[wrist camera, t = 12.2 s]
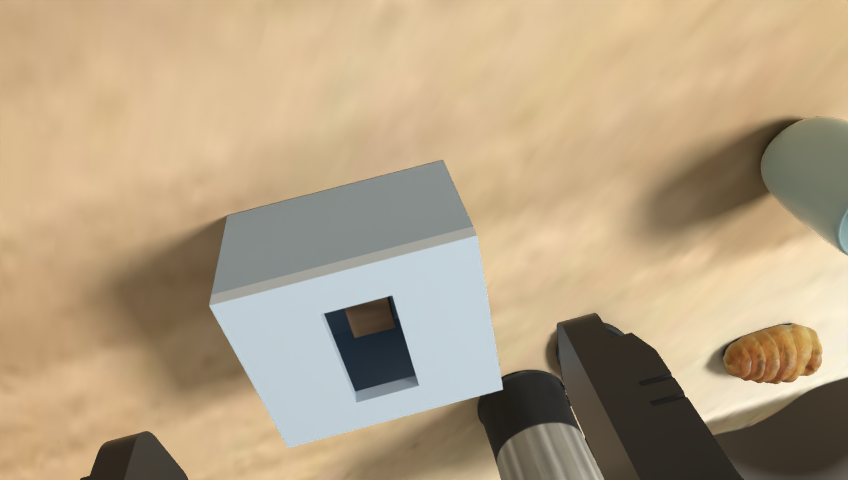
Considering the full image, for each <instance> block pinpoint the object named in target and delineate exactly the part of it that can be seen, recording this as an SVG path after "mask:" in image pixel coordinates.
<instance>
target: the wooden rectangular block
mask: <svg viewBox="0 0 848 480" xmlns="http://www.w3.org/2000/svg"><path fill="white" fill-rule="evenodd" d="M344 309H345V312H346V315H347V317H348V320H349V323H350V326H351V329H352V332H353V335H354V338H357V337H361V336H365V335H369V334H373V333H377V332H380V331H384V330H388V329H392V328H396V327H395V322H394V317H393V312H392V307H391V302H390V297H389V296H388V297H384V298H381V299H377V300H373V301H369V302H366V303H362V304H358V305H354V306H350V307H347V308H344Z"/></svg>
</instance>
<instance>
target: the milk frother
mask: <svg viewBox="0 0 848 480" xmlns="http://www.w3.org/2000/svg"><path fill="white" fill-rule="evenodd" d="M604 325H605V327H606V328H607V330H608V332H609V333H610V335H611V337H612V338H614V337H618V336H621V335H625V334H624V333H623V332H621V331H620V330H619V329H617V328H616V327H614V326H612V325H610V324H607V323H604ZM556 354H557V359H558V361H559V364H560V366H561V363H560V353H559V344H558V346H557V353H556ZM501 380H502V386H503V390H500V391H496V392H492V393H489V394H485V395H482V397H481V398H480V401H479V404H478V416H479V419H480V421H481V423H482V424H483V425H484V427H485V430H486V433H487V436H488V439H489V442H490V445H491V447H492V450H493V453H494V457H495V460H496V464H497V467H498V470H499V474H500V478H501V480H604V479H603V476H602V474H601V472H600V470H599V468H598V467H599V466H597V465H598V464H596V463H597V462H595V461H596V460H594V459H595V457H594V455H593V453H592V451H591V448H590V446H589V444H588V442H587V440H586V437H585V439H584V437H583V435H582V432H581V430H580V428H579V426H578V424H577V421H576V419H575V417H574V415H573V412H572V410H571V408H570V407H571V404H570V401H569V399H568V396H567V395H566V392H565V386H564V385H563V383H562V382H561V380H560V379H559V378H557V377H556V376H555V375H553V374H551V373H547V372H544V371H537V370H529V371H522V372H517V373H514V374H511V375H508V376H506V377H504V378H502V379H501ZM566 397H567V398H566Z"/></svg>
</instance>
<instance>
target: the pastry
mask: <svg viewBox="0 0 848 480" xmlns="http://www.w3.org/2000/svg"><path fill="white" fill-rule="evenodd" d="M821 354H822V346H821V343H820V341H819V339H818V337H817V333H816V332H815V331H814V330H812V329H811V328H808V327H804V326H800V325H797V324H793V323H792V324H791V325H783V324H782V325H777V326H772V327H770V328H768V329H762V330H760V331H757V332H754V333H751V334H748V335H745V336H743V337H741V338H740V339H739V340H737V341H736V342H733V343H731V344H730V345H729V346H728V348H727V349H726V352H725V355H724V357H723V362H724V366H725V369H726V371H727V372H728V373H729V374H730V375H733V376H736V377H739V378H741V379H743V380H745V381H748V380H752V381H755V382H757V383H762V382H766V383H773V384H779V383H780V382H781V381H782V382H793V381H795V380H796V379H797V378H798V376H804V375H805V376H809V375H811V374H813V373H815V372H816V371H817V370H818V368H819V367H820V365H821V363H822V357H821Z"/></svg>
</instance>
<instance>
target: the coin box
mask: <svg viewBox="0 0 848 480" xmlns="http://www.w3.org/2000/svg"><path fill="white" fill-rule="evenodd" d="M388 296H389V297H390V302H391V307H392V312H393V317H394V322H395V327H396V328H392V329H388V330H384V331H380V332H377V333H373V334H369V335H365V336H361V337H357V338H354V335H353V332H352V329H351V326H350V323H349V320H348V317H347V315H346V312H345V309H344V308H347V307H350V306H354V305H358V304H362V303H366V302H369V301H373V300H377V299H381V298H384V297H388ZM209 307H210V308H211V310H212V312H213V314H214V316H215V317H216V319H217V321H218V323H219V325H220V326H221V328H222V330H223V332H224V334H225V335H226V337H227V339H228V341H229V343H230V344H231V346H232V348H233V350H234V352H235V353H236V355H237V357H238V359H239V361H240V362H241V364H242V366H243V368H244V370H245V371H246V373H247V375H248V377H249V379H250V380H251V382H252V384H253V386H254V388H255V389H256V391H257V393H258V395H259V397H260V399H261V400H262V402H263V404H264V406H265V408H266V409H267V411H268V413H269V415H270V417H271V418H272V420H273V422H274V424H275V426H276V427H277V429H278V431H279V433H280V435H281V436H282V438H283V440H284V442H285V444H286V445H287V447H288V448H290V447H294V446H298V445H301V444H305V443H309V442H312V441H316V440H320V439H323V438H327V437H331V436H334V435H338V434H342V433H345V432H349V431H353V430H356V429H360V428H364V427H367V426H371V425H375V424H378V423H382V422H386V421H389V420H393V419H397V418H400V417H404V416H408V415H411V414H415V413H419V412H422V411H426V410H430V409H433V408H437V407H441V406H445V405H448V404H452V403H456V402H459V401H463V400H467V399H470V398H474V397H478V396H481V395H485V394H489V393H492V392H496V391H500V390H503V386H502V380H501V374H500V368H499V362H498V356H497V350H496V344H495V338H494V332H493V326H492V320H491V314H490V308H489V302H488V296H487V290H486V284H485V278H484V272H483V267H482V261H481V255H480V249H479V243H478V237H477V234H476V232H475V229H474V227H473V225H472V223H471V221H470V218H469V216H468V214H467V212H466V210H465V207H464V205H463V203H462V201H461V199H460V196H459V194H458V192H457V190H456V188H455V185H454V183H453V181H452V179H451V177H450V174H449V172H448V170H447V168H446V166H445V163H444V161H443V160H441V161H437V162H434V163H430V164H426V165H422V166H418V167H414V168H410V169H406V170H402V171H399V172H395V173H391V174H387V175H383V176H379V177H375V178H371V179H367V180H364V181H360V182H356V183H352V184H348V185H344V186H340V187H336V188H332V189H329V190H325V191H321V192H317V193H313V194H309V195H305V196H301V197H298V198H294V199H290V200H286V201H282V202H278V203H274V204H270V205H266V206H263V207H259V208H255V209H251V210H247V211H243V212H239V213H235V214H231V215H228V216H227V219H226V224H225V229H224V234H223V239H222V244H221V249H220V254H219V259H218V264H217V269H216V274H215V279H214V284H213V289H212V294H211V299H210V304H209Z"/></svg>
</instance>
